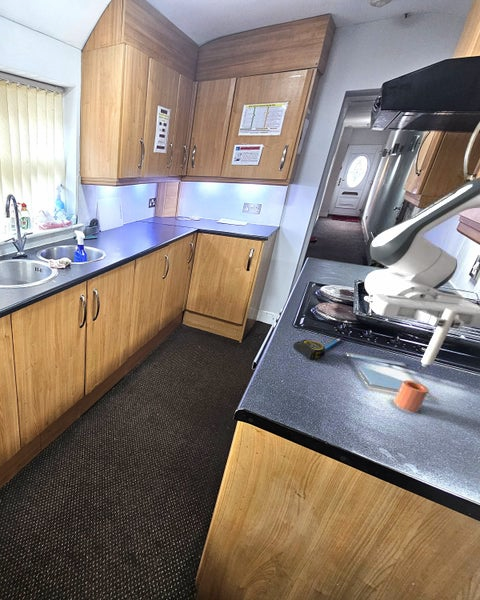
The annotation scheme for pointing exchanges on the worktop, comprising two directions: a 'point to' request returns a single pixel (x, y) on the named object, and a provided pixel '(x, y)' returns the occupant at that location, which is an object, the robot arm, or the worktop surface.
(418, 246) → the robot arm
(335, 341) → the pencil
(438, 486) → the worktop surface
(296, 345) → the tape measure
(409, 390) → the pen pot
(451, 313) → the stylus
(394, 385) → the tablet
